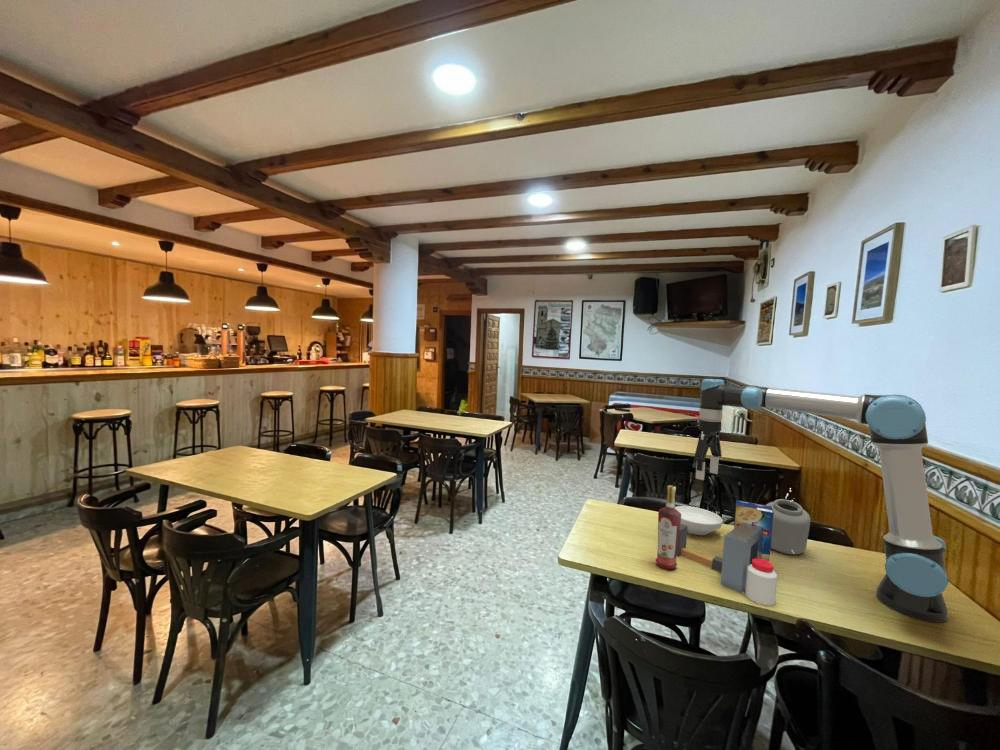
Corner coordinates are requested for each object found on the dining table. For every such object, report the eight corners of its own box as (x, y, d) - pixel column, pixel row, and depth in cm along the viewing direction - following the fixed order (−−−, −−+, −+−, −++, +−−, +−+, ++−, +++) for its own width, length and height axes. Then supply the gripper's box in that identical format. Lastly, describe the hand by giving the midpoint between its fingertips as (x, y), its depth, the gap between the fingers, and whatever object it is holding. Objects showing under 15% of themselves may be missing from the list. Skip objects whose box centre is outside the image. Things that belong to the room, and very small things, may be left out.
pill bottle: (775, 609, 118) (778, 572, 117) (744, 599, 122) (747, 563, 121) (774, 596, 124) (777, 561, 124) (745, 587, 128) (748, 553, 128)
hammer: (727, 568, 140) (730, 540, 139) (721, 574, 136) (723, 545, 135) (670, 546, 155) (671, 520, 154) (662, 550, 151) (664, 524, 150)
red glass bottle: (680, 566, 140) (686, 487, 138) (672, 574, 134) (678, 491, 133) (659, 558, 145) (664, 481, 143) (651, 565, 139) (656, 485, 138)
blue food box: (768, 576, 137) (773, 512, 136) (731, 566, 142) (736, 505, 141) (767, 567, 143) (771, 506, 142) (731, 558, 148) (735, 499, 147)
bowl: (731, 543, 160) (732, 525, 160) (682, 540, 161) (683, 523, 160) (706, 523, 180) (707, 507, 180) (662, 520, 180) (664, 504, 180)
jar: (814, 566, 145) (820, 497, 144) (766, 556, 151) (772, 490, 149) (799, 544, 162) (804, 483, 161) (756, 536, 168) (761, 477, 167)
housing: (761, 572, 138) (764, 526, 138) (741, 593, 125) (745, 542, 124) (741, 564, 143) (745, 520, 142) (720, 584, 129) (724, 535, 129)
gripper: (712, 416, 162) (709, 468, 163) (686, 421, 145) (682, 479, 146) (732, 419, 157) (729, 473, 157) (708, 424, 140) (704, 484, 140)
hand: (706, 476), depth 152 cm, fingers open, 13 cm apart
